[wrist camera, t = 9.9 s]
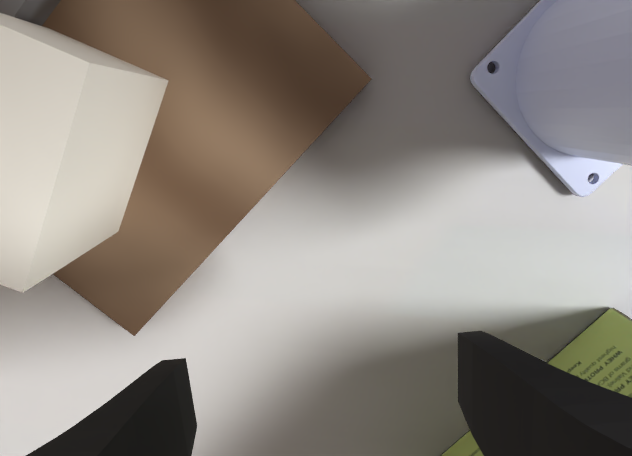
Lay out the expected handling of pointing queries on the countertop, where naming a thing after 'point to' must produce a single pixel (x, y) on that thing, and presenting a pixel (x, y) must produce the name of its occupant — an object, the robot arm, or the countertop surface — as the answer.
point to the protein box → (586, 364)
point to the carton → (65, 147)
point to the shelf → (200, 127)
